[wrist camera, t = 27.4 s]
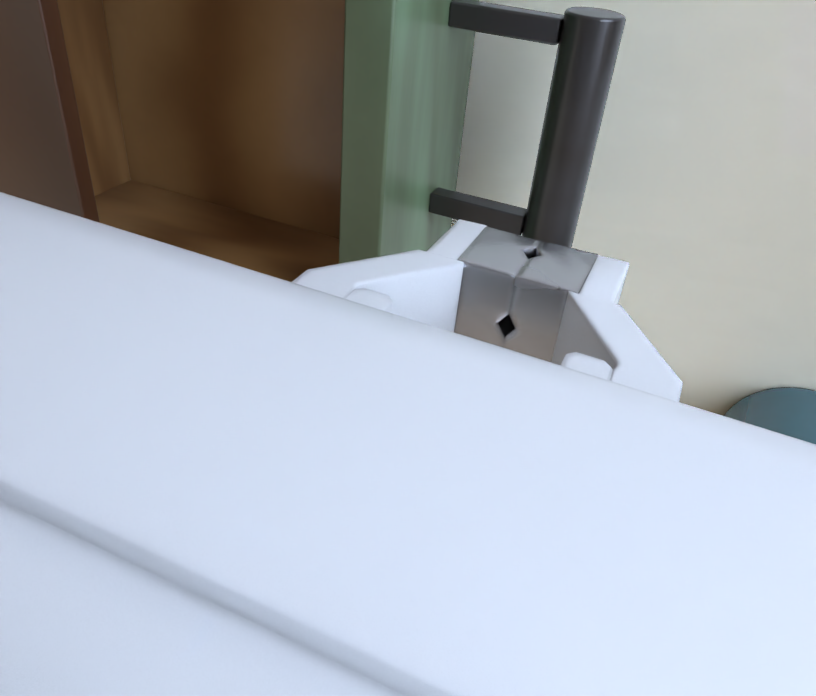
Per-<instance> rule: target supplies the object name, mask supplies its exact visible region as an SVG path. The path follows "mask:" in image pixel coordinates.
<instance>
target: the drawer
mask: <svg viewBox="0 0 816 696" xmlns="http://www.w3.org/2000/svg"><path fill="white" fill-rule="evenodd" d="M57 3H58V8H59V13H60V18H61V24H62V29H63V34H64V39H65V44H66V50H67V55H68V60H69V65H70V70H71V76H72V81H73V86H74V91H75V96H76V102H77V107H78V112H79V117H80V122H81V128H82V133H83V138H84V143H85V148H86V154H87V159H88V164H89V169H90V174H91V180H92V185H93V190H94V195H95V200H96V206H97V211H98V216H99V221H100V223H102V224H105V225H109V226H112V227H115V228H118V229H122V230H125V231H128V232H131V233H134V234H138V235H141V236H144V237H147V238H151V239H154V240H157V241H160V242H163V243H167V244H170V245H173V246H176V247H180V248H183V249H186V250H189V251H193V252H196V253H199V254H202V255H205V256H209V257H212V258H215V259H218V260H222V261H225V262H228V263H231V264H234V265H238V266H241V267H244V268H247V269H251V270H254V271H257V272H260V273H264V274H267V275H270V276H273V277H276V278H280V279H283V280H286V281H289V282H292V281H293V280H295V279H296V278H297V277H299V276H300V275H301V274H302V273H304V272H305V271H306V270H308V269H313V268H318V267H324V266H329V265H335V264H340V263H346V262H352V261H357V260H363V259H368V258H374V257H380V256H385V255H391V254H396V253H402V252H408V251H413V250H423V251H427V250H428V249H429V248H430V247H431V246H432V245H433V244H434V243H435V242H436V241H437V240H438V239H439V238H440V237H441V236H442V235H443V234H444V233H445V232H447V231H448V230H449V229H450V228H451V222H452V218H453V219H457V220H459V219H461V220H465V221H469V222H474V223H478V224H483V225H487V227H490V228H494V229H498V230H501V231H505V232H508V233H512V234H516V235H519V236H520V235H521V234H522V236H523V237H527V238H530V239H534V240H537V241H544V242H548V243H552V244H556V245H561V246H565V247H569V248H571V247H572V243H573V238H574V234H575V230H576V226H577V222H578V217H579V213H580V209H581V205H582V201H583V197H584V192H585V188H586V184H587V180H588V176H589V171H590V167H591V163H592V159H593V155H594V150H595V146H596V142H597V138H598V134H599V130H600V125H601V121H602V117H603V113H604V109H605V104H606V100H607V96H608V92H609V88H610V83H611V79H612V75H613V71H614V67H615V62H616V58H617V54H618V50H619V46H620V42H621V37H622V33H623V29H624V25H625V21H626V19H625V16H624V15H622V14H620V13H618V12H615V11H611V10H606V9H600V8H592V7H571V8H568V9H566V11H565V13H564V15H560V14H554V13H548V12H542V11H535V10H529V9H523V8H517V7H510V6H504V5H498V4H492V3H485V2H479V0H57ZM475 31H476V32H481V33H487V34H493V35H499V36H504V37H510V38H516V39H522V40H527V41H533V42H539V43H545V44H550V45H556V44H558V43H559V45H558V50H557V55H556V61H555V66H554V71H553V76H552V81H551V87H550V92H549V97H548V102H547V108H546V113H545V118H544V123H543V129H542V134H541V139H540V144H539V150H538V155H537V160H536V165H535V170H534V176H533V181H532V186H531V191H530V197H529V202H528V207H527V209H524V208H520V207H516V206H512V205H508V204H504V203H500V202H496V201H492V200H488V199H484V198H480V197H475V196H471V195H467V194H463V193H459V192H455V190H456V182H457V174H458V166H459V158H460V150H461V142H462V134H463V126H464V118H465V110H466V102H467V94H468V86H469V78H470V70H471V62H472V54H473V46H474V38H475ZM522 232H523V233H522Z"/></svg>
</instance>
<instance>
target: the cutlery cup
mask: <svg viewBox="0 0 816 696" xmlns="http://www.w3.org/2000/svg"><path fill="white" fill-rule="evenodd" d="M724 416H725V417H729V418H732V419H735V420H738V421H741V422H745V423H748V424H751V425H754V426H758V427H761V428H764V429H767V430H770V431H774V432H777V433H780V434H783V435H787V436H790V437H793V438H796V439H800V440H803V441H806V442H809V443H812V444H816V391H813V390H809V389H802V388H775V389H769V390H764V391H761V392H757V393H755V394H752V395H749V396H748V397H746V398H744V399H742V400H740V401H739V402H738V403H736V404H735V405H734V406H733V407H731V408H730V409H729V410H728V411H727V413H726V414H725V415H724Z"/></svg>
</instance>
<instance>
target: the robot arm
mask: <svg viewBox="0 0 816 696" xmlns="http://www.w3.org/2000/svg"><path fill="white" fill-rule="evenodd" d="M628 267H629V262H626V261H621V260H617V259H613V258H608V257H604V256H599V255H598V254H595V253H590V252H586V251H582V250H578V249H573V248H569V247H565V246H561V245H556V244H552V243H548V242H544V241H537V240H534V239H530V238H527V237H523V236H519V235H516V234H512V233H508V232H505V231H501V230H498V229H494V228H490V227H487V225H483V224H478V223H474V222H469V221H465V220H461V219H459V220H458V221H457V222H456V223H455V224H454V225H453V226H452V227H451V228H450V229H449V230H448V231H447V232H445V233H444V234H443V235H442V236H441V237H440V238H439V239H438V240H437V241H436V242H435V243H434V244H433V245H432V246H431V247H430V248H429V249H428V250H427V251H423V250H413V251H408V252H402V253H396V254H391V255H385V256H380V257H374V258H368V259H363V260H357V261H352V262H346V263H340V264H335V265H329V266H324V267H318V268H313V269H308V270H306V271H305V272H304V273H302V274H301V275H300V276H299V277H297V278H296V279H295V280H293V281H292V282H289V281H286V280H283V279H280V278H276V277H273V276H270V275H267V274H264V273H260V272H257V271H254V270H251V269H247V268H244V267H241V266H238V265H234V264H231V263H228V262H225V261H222V260H218V259H215V258H212V257H209V256H205V255H202V254H199V253H196V252H193V251H189V250H186V249H183V248H180V247H176V246H173V245H170V244H167V243H163V242H160V241H157V240H154V239H151V238H147V237H144V236H141V235H138V234H134V233H131V232H128V231H125V230H122V229H118V228H115V227H112V226H109V225H105V224H102V223H99V222H96V221H92V220H89V219H86V218H83V217H80V216H76V215H73V214H70V213H67V212H63V211H60V210H57V209H54V208H51V207H47V206H44V205H41V204H38V203H34V202H31V201H28V200H25V199H21V198H18V197H15V196H12V195H9V194H5V193H2V192H0V696H816V444H812V443H809V442H806V441H803V440H800V439H796V438H793V437H790V436H787V435H783V434H780V433H777V432H774V431H770V430H767V429H764V428H761V427H758V426H754V425H751V424H748V423H745V422H741V421H738V420H735V419H732V418H729V417H725V416H722V415H719V414H716V413H712V412H709V411H706V410H703V409H699V408H696V407H693V406H690V405H687V404H683V403H680V402H679V401H680V395H681V390H682V385H683V383H682V381H681V380H680V379H679V377H678V376H677V375H676V374H675V372H674V371H673V370H672V369H671V367H670V366H669V365H668V364H667V362H666V361H665V360H664V359H663V357H662V356H661V355H660V354H659V352H658V351H657V350H656V349H655V347H654V346H653V345H652V344H651V342H650V341H649V340H648V339H647V337H646V336H645V335H644V334H643V332H642V331H641V330H640V329H639V327H638V326H637V325H636V324H635V322H634V321H633V320H632V319H631V317H630V316H629V315H628V314H627V312H626V311H625V310H624V309H623V307H622V306H621V305H618V302H619V298H620V295H621V292H622V288H623V285H624V282H625V278H626V275H627V271H628Z"/></svg>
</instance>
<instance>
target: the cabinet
mask: <svg viewBox="0 0 816 696" xmlns="http://www.w3.org/2000/svg"><path fill="white" fill-rule="evenodd" d="M0 192H2V193H5V194H9V195H12V196H15V197H18V198H21V199H25V200H28V201H31V202H34V203H38V204H41V205H44V206H47V207H51V208H54V209H57V210H60V211H63V212H67V213H70V214H73V215H76V216H80V217H83V218H86V219H89V220H92V221H96V222H99V223H100V221H99V216H98V211H97V206H96V200H95V195H94V190H93V185H92V180H91V174H90V169H89V164H88V159H87V154H86V148H85V143H84V138H83V133H82V128H81V122H80V117H79V112H78V107H77V102H76V96H75V91H74V86H73V81H72V76H71V70H70V65H69V60H68V55H67V50H66V44H65V39H64V34H63V29H62V24H61V18H60V13H59V8H58V3H57V0H0Z"/></svg>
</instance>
